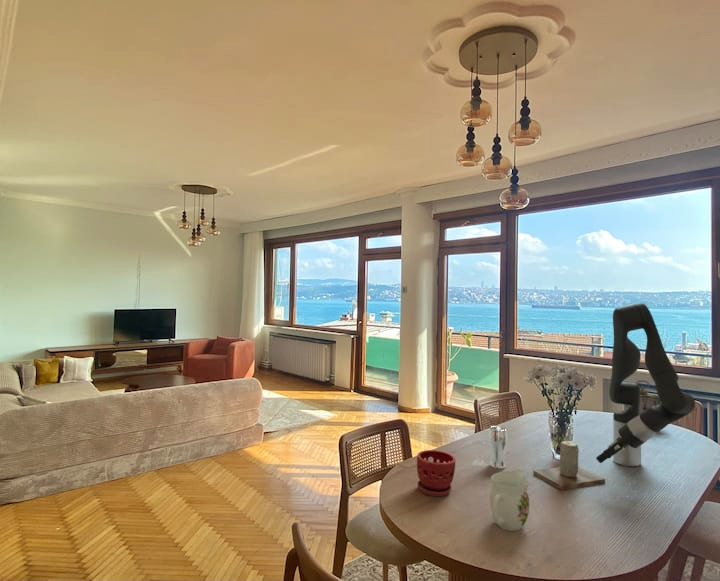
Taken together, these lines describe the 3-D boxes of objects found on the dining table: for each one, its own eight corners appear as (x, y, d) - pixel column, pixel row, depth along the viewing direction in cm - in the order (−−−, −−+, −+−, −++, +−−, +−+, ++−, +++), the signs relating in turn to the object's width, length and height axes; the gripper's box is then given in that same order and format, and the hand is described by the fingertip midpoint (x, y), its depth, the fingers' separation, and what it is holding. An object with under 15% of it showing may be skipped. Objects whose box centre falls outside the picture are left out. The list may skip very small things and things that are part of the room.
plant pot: (431, 502, 139) (432, 465, 139) (409, 486, 150) (409, 452, 151) (463, 494, 145) (463, 459, 145) (438, 480, 156) (439, 447, 157)
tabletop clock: (631, 428, 226) (631, 381, 227) (623, 423, 235) (623, 378, 236) (661, 430, 224) (661, 382, 224) (652, 425, 233) (652, 379, 233)
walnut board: (574, 468, 169) (574, 464, 169) (605, 483, 156) (605, 479, 156) (533, 474, 163) (533, 470, 163) (561, 489, 150) (561, 485, 150)
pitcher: (475, 530, 122) (476, 482, 122) (503, 509, 135) (503, 465, 135) (513, 546, 114) (513, 494, 115) (538, 521, 128) (538, 475, 128)
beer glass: (508, 470, 167) (508, 431, 167) (489, 468, 168) (489, 430, 169) (505, 463, 174) (505, 426, 174) (487, 461, 175) (488, 425, 175)
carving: (564, 478, 156) (564, 445, 156) (555, 470, 163) (556, 439, 164) (582, 479, 155) (582, 446, 156) (572, 471, 163) (572, 439, 163)
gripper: (633, 417, 152) (599, 443, 160) (622, 426, 142) (587, 453, 150) (652, 435, 148) (616, 460, 156) (642, 446, 138) (604, 472, 146)
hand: (602, 457), depth 153 cm, fingers open, 8 cm apart
